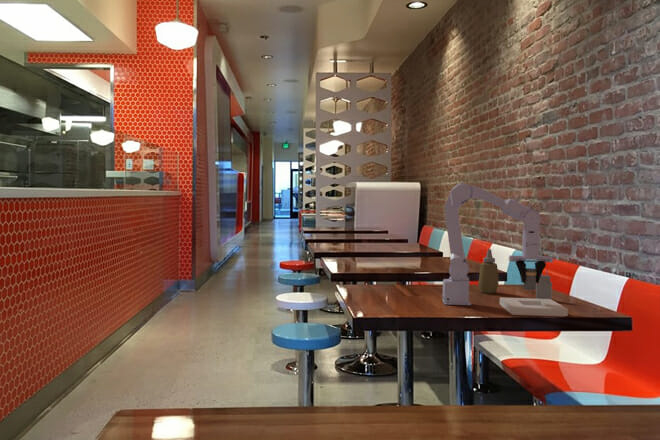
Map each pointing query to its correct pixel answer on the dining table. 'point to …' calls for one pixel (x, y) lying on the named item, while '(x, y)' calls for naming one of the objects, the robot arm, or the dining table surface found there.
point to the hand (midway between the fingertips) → (530, 282)
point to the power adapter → (544, 288)
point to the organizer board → (533, 307)
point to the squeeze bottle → (488, 274)
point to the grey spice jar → (530, 279)
